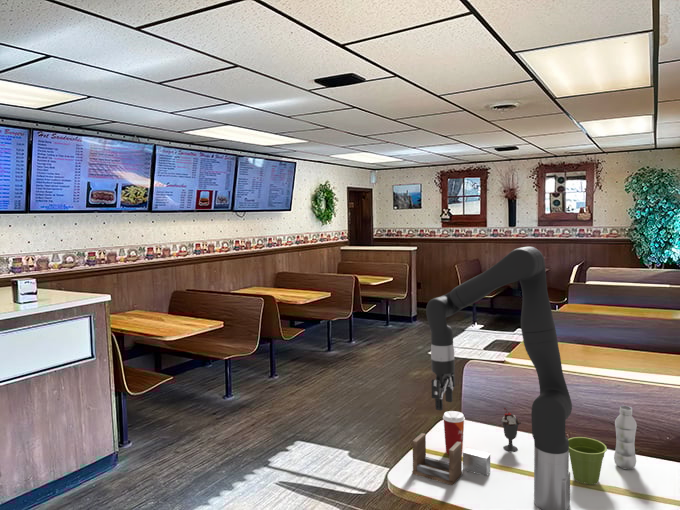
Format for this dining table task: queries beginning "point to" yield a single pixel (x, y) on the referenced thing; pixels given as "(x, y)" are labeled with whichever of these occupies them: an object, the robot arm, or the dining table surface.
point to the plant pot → (586, 459)
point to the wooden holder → (437, 462)
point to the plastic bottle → (625, 439)
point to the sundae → (510, 430)
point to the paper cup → (453, 428)
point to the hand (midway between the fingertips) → (444, 405)
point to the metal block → (476, 461)
